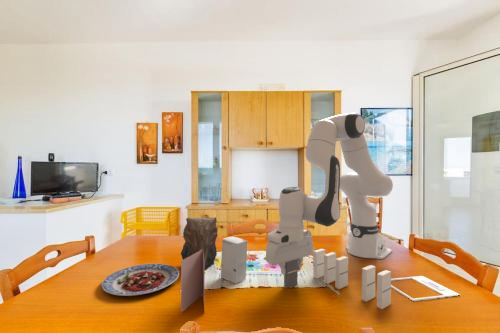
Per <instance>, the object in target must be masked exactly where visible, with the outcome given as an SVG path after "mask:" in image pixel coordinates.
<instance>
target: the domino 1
mask: <svg viewBox="0 0 500 333" xmlns="http://www.w3.org/2000/svg"><path fill="white" fill-rule="evenodd" d="M284 267H285V269H287V274H285V275H283V286H284V287H285V288H290V287H293V286H296V285H298V272H299V270H298V259H296V260H292V261H289V262H285V265H284Z"/></svg>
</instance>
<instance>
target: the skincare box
mask: <svg viewBox="0 0 500 333" xmlns="http://www.w3.org/2000/svg"><path fill="white" fill-rule="evenodd" d="M221 241H222V243H221V259H220V260H221V263H220V278H222V279H224V280H227V281H229V282H231V283H233V284H238V283H239V282H242V281H245V280H246V279H247V278H246V277H247V261H248V260H247V256H248V240H247V239H246V240H245V239H243V238H240V237H237V236H228V237H223V238H222V240H221Z"/></svg>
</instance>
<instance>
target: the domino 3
mask: <svg viewBox="0 0 500 333" xmlns="http://www.w3.org/2000/svg"><path fill="white" fill-rule="evenodd" d="M335 259H337V253H336V252H333V251H331V252H328V253H325V255H324V276H323V282H324V283H326V284H330V283H332V282H335Z"/></svg>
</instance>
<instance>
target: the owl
mask: <svg viewBox="0 0 500 333" xmlns="http://www.w3.org/2000/svg"><path fill="white" fill-rule="evenodd" d="M185 219H186V224H185V226H184V228H183V233H182V235H183V236H182V238H183V240H184V241H185V242H184V244H183V246H182V250H181V252H180V255H181V259H182V260H184V259H186V258H188V257H189V256H191V255H193V254H195V253H197V252H199V251H200V250H202V249H203V253H204V262H205V271H207V269H209V268H211V267H212V266H213V265H215V261H216V259H217V254H218V252H217V247H216V241H217V237H218V227H217V221H218V220H217V217H209V216H201V217H186V218H185Z"/></svg>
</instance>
